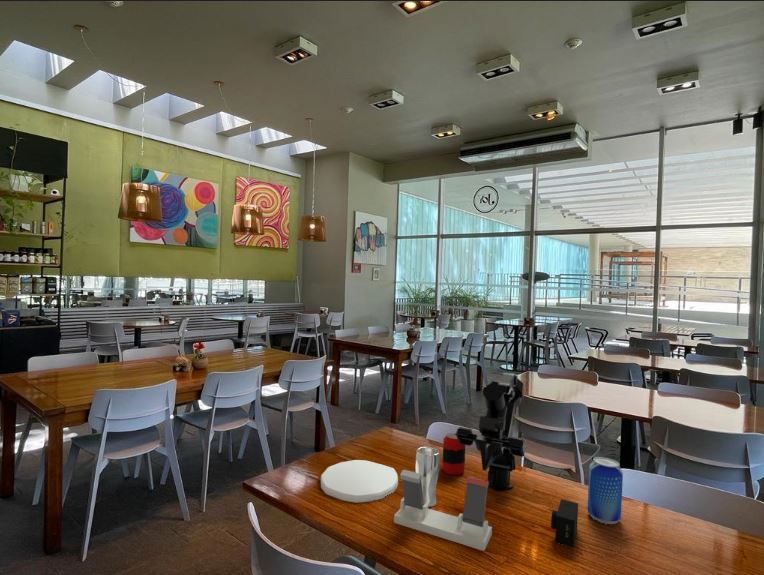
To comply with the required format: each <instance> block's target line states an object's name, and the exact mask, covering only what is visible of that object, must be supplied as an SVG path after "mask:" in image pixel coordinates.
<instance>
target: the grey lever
mask: <svg viewBox="0 0 764 575" xmlns="http://www.w3.org/2000/svg"><path fill="white" fill-rule="evenodd" d="M421 479H422V475H421V474H419V473H416V471H415V472H414V471H411V470H408V469H407V470H406V469H402V470H401V472H400V480H401V483H402V484H401V485H402V486H401V487H402V492H403V497H404V502H405V505H407V506H410V507H414V508H417V509H421V510H423V506H424V501H423V492H422V483H421Z"/></svg>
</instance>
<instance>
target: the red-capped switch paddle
mask: <svg viewBox="0 0 764 575" xmlns="http://www.w3.org/2000/svg"><path fill="white" fill-rule="evenodd" d="M488 484H489V481H488V480H485V479H480V478H477V477H473V476H466V489H465V496H464V497H465V498H464V505H463V513H462V514H463V522H465V523H469V524H472V525H476V526H479V527H483V523H484V521H485V515H486V514H485V512H486V505H487V504H486V503H487V494H488V487H489V485H488Z"/></svg>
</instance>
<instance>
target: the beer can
mask: <svg viewBox="0 0 764 575" xmlns="http://www.w3.org/2000/svg"><path fill="white" fill-rule="evenodd" d="M623 477H624V473H623V470H622V469H621V467H620V463H619V462H618V461H617V460H615V459H612V458H608V457H604V456H595V457H594V458H593V460H592V462H591V463H590V464H589V467H588V487H587V492H588V493H587V512H588V514H589V517H592V518H593V519H592V518H591V519H592V520H594V519H595V520H597V521H599V522H602V523H606V524H605V525H607V524H615V523H617V522H618V523H619V522H620V520H621V519H622V506H623V504H622V502H623V483H624V482H623V481H624V478H623ZM595 520H594V521H595ZM597 521H596V522H597ZM599 522H598V523H599ZM602 523H601V524H602ZM618 523H617V524H618ZM615 525H616V524H615Z"/></svg>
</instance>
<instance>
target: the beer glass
mask: <svg viewBox="0 0 764 575" xmlns="http://www.w3.org/2000/svg"><path fill="white" fill-rule="evenodd" d="M415 454H416V456H415V464H414V466H415V467H414V468H415V473H419V474H421V475H422V479H421V483H422V492H423V501H424V505H425V503H426V504H428V508H432V507H434V506H436V504H437V496H436V487H437V482H438V478H439V472H440V450H438V449H437V448H435V447H431V446H422V447H418V448H417V449H416V453H415Z"/></svg>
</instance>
